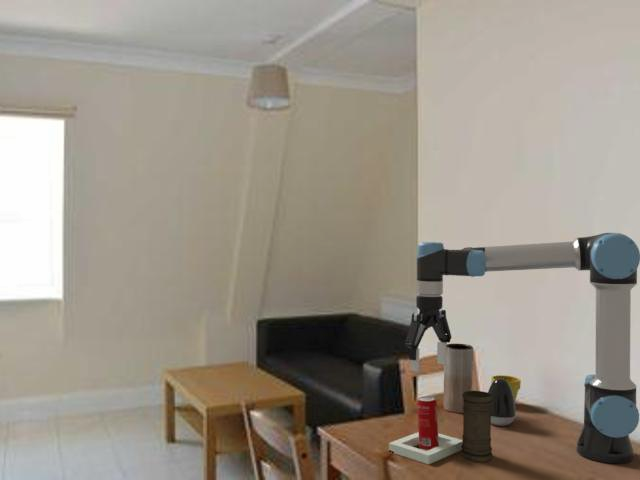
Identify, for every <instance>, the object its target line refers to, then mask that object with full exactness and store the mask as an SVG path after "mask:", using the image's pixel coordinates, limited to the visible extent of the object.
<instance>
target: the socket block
mask: <svg viewBox="0 0 640 480" xmlns="http://www.w3.org/2000/svg"><path fill="white" fill-rule="evenodd" d="M438 439H439V446H438V447H435V448H433V449H430V450H428V451H425V450H422V449H420V448H417V447H416V446H419V431H418V432H414V433H413V434H409V435H407V436H403V437H402V438H398V439H396V440H393V441H390V442H389V443H388V451H389V450H391V451H393V452H394V453H393V454H395V455H398V456H401V457H404V458H408V459H411V460H413V461H416V462H420V463H423V464H426V465H431V464H433V463H435V462H437V461H440V460H442V459H444V458H446V457H449V456H451V455H453V454H456V453H458V452H461V450H462V448H461V446H462V444H463V439H460V438H456V437H453V436H449V435H446V434H442V433H439V432H438Z"/></svg>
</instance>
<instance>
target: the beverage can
mask: <svg viewBox="0 0 640 480" xmlns="http://www.w3.org/2000/svg"><path fill="white" fill-rule="evenodd" d="M416 405H417V407H416V408H417V421H418V422H417V427H418V428H417V429H418V432H419V445H418V447H419V449H421V450H425V451H428V450H430V449H433V448H435V447H438V446H440V445H439V439H438V433H439V422H438V403H437V401H436V397H434V396H420V397H418V398H417V402H416Z"/></svg>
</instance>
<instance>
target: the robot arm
mask: <svg viewBox="0 0 640 480" xmlns="http://www.w3.org/2000/svg"><path fill="white" fill-rule="evenodd" d="M416 256H417V257H416V294H417V296H416V300H415V301H416V305H415V306H416V309H418V310H419V311H418V313H415V312H413V313H411V321H410V326H409V328H408V330H407V331H408V332H407V335H406V339H405V342H404V347H406V348H408V349H409V371H412V372H416V373H419V372H420V348H419V345H420V344H421V341H422V339H423V337H424V335H425V332H426V331H427V330H428V329H430V328H432V329H433V331H434V333H435V335H436V337H437V339H438V341H437V342H436V343H437V344H436V345H437V349H436V352H437V353H436V364H437V365H438V364H439V365H442V366H444V365H446V351H447V344H450V343H451V339H452V334H451V330H450V326H449V322H448V319H447V311H446V309H443V301H444V300H443V296H442V295H443V293H444V284H443V283H444V276H457V277H458V276H459V277H472V278H474V277H483V276H485V274H486V272H487V273H488V272H505V271H524V270H525V271H527V270H547V269H548V270H550V269H567V268H573V269H574V268H575V270H577V271H589V283H590V284H591V286H593V288H594V289H595V374H588V375H587V376H585V378H584V383H583V386H584V405H583V406H584V409H583V410H584V411H583V426H582V429H581V431H580V434H579V436H578V440H577V442H576V452H577V453H578V454H579V455H580V456H582V457H584V458H587V459H588V460H592V461H596V462H601V463H607V464H609V463H610V464H624V463H629V462H631V461H633V459H634V448H633V445H632V442H631V437H630V436H629V435H630V434H632V433H633V432H634V431H635V430H636V429H637V427H638V426H639V423H640V413H639V409H638V407H637V384H636V383H635V382H634V381H633V380H632V379H631V291H632V289H633V288H635V287H636V285H637V284H638V268H639V265H640V250H639V247H638V245H637V243H636V242H635V241H634V240H633V239H632V238H631V237H630V236H627V235H625V234H623V233H618V232H604V233H601V234H600V233H599V234H596V235H595V234H594V235H590V236H583V237H576V238H575V239H574V240H572V241H559V242H545V243H542V242H541V243H526V244H513V245H512V244H511V245H510V244H509V245H498V246H497V245H495V246H484V247H483V246H482V247H480V246H479V247H469V246H468V247H463V248H461V249H446V248H445V247H444V244H443V242H437V241H434V242H433V241H432V242H431V241H428V242H427V241H423V242H420V243H419V244H418V245H417V255H416Z"/></svg>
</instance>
